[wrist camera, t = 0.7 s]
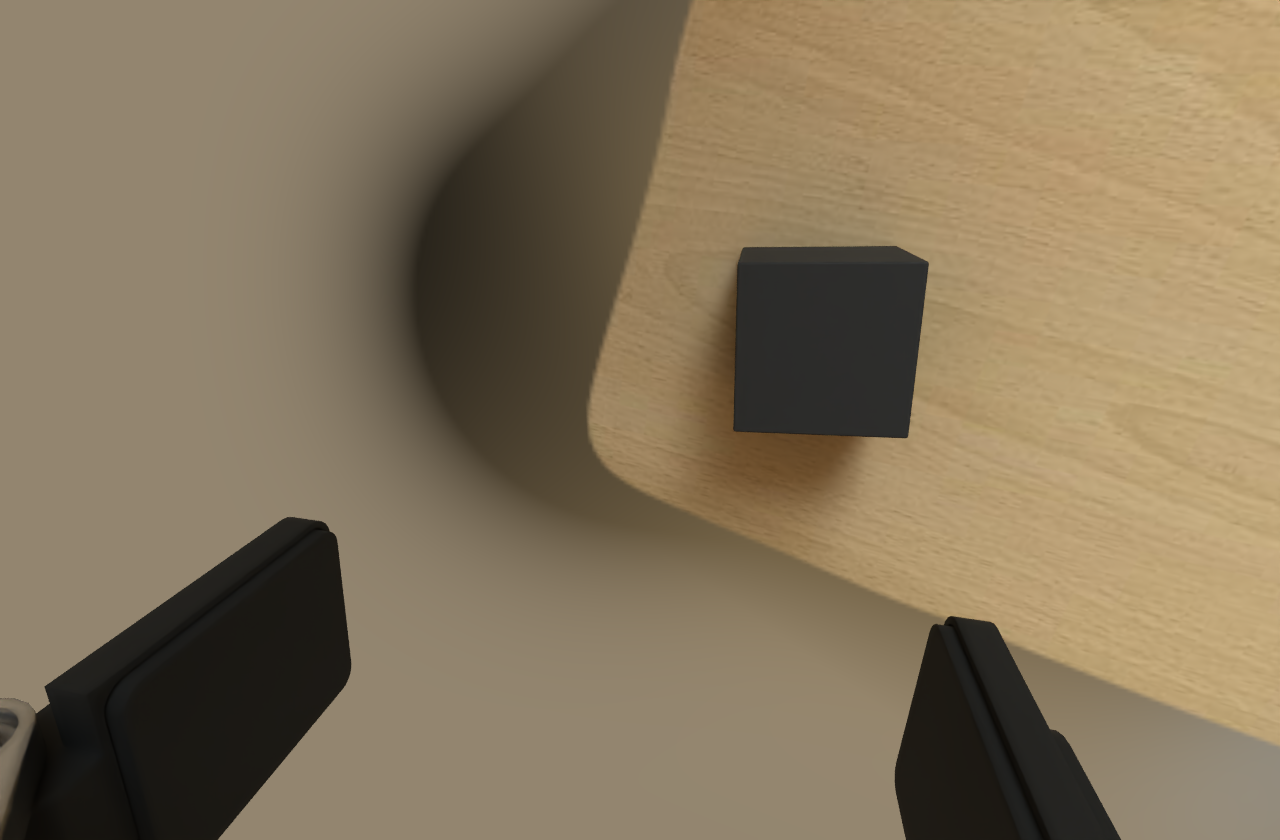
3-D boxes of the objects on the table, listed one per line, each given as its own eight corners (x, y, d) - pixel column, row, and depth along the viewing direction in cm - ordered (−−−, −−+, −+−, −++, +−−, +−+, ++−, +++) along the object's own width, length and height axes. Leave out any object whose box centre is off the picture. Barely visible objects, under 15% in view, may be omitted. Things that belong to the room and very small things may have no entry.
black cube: (742, 247, 22) (737, 262, 18) (897, 246, 22) (929, 261, 17) (738, 388, 24) (733, 431, 20) (882, 392, 23) (908, 439, 19)
